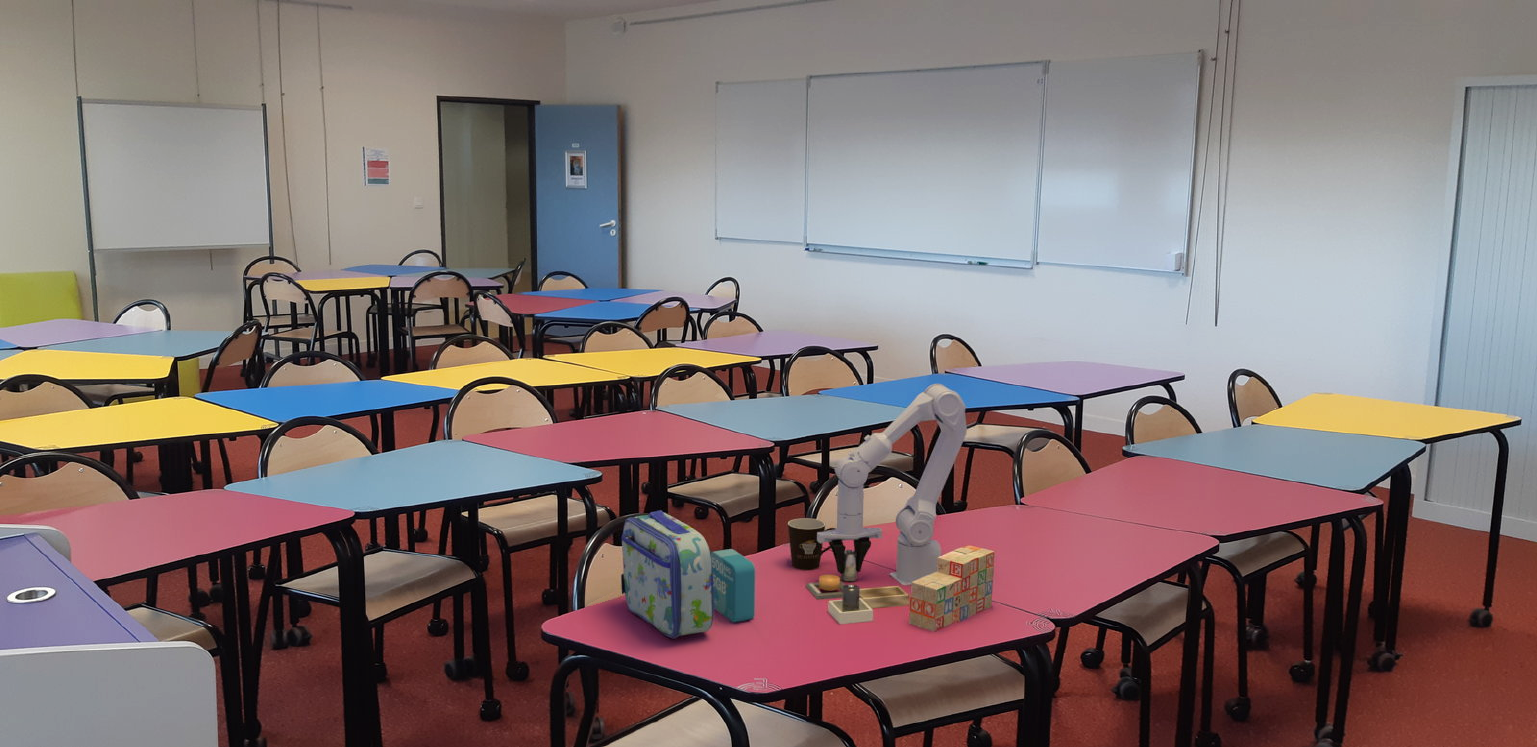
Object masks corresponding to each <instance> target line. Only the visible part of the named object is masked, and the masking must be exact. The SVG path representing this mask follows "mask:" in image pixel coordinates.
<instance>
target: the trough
mask: <svg viewBox="0 0 1537 747" xmlns="http://www.w3.org/2000/svg"><path fill="white" fill-rule="evenodd" d="M859 598H861V599H862V600H863V601H864V602H865V603H866V604H867V605H868V606H869V607H870V608H871V609H880V608H881V609H883V608H892V607H904V606H910V595H909V594H908V592H906V591H905V590H904V589H903V588H902V587H901V586H900V585H894V586H881V587H871V588H870V587H868V588H860V593H859Z"/></svg>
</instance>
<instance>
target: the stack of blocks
mask: <svg viewBox="0 0 1537 747" xmlns="http://www.w3.org/2000/svg"><path fill="white" fill-rule="evenodd" d="M994 563H995V551H994V550H991V549H987V548H981V547H979V546H975V545H966V546H963V547H959V548H956V549H954V550H952V551H950V552H947V553H945V554H943V555H942V554H941V556H940V557H938V558H937V572H935V573H933V574H930V575H927V576H925V577H922V578H920V579H918V580H915V581H913V582H912V583H911V586H910V596H909V618H908V619H909V625H913V626H916V627H919V628H921V629H925V630H928V631H932V632H934V633H935V632H937V630H940V629H943V628H945V627H948V626H949V625H951V624H953V623H955V622H958V623H960V622H962V621H964V620H967V619H968V618H970V617H972V616H973V615H976V614H978V613H981V612H983V611H985V610H988V609H989V608H992V606H993V586H994V584H993V583H994V576H995V575H994V572H995V565H994Z"/></svg>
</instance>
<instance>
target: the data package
mask: <svg viewBox="0 0 1537 747" xmlns="http://www.w3.org/2000/svg"><path fill="white" fill-rule="evenodd" d="M710 554H711V559H712V566H713V583H714V610H716V611H717V612H719V614H721V615H722V616H724V617H725V619H727V620H728V621H729V622H730V623H740V622H744V621H749V620H753V619H754V618H755V614H756V613H755V612H756V566H755V564H754V563H753V561H751V560H750V559H748V558H746V557H745V556H744V555H742V554H741V553H739V552H737V550H735V549H732V548H729V549H722V550H716V551H712V552H710Z"/></svg>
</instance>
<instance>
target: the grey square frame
mask: <svg viewBox="0 0 1537 747" xmlns="http://www.w3.org/2000/svg"><path fill="white" fill-rule="evenodd" d="M845 585H846V584H845V583H844V582H843V580H840V588H839V589H838V590H839V591H837V592H821V591H820V590H819V589H820V588H819V581H818V582H809V583H805V587H806V589H807V590H808V591H809V592H810V593H811V594H812V596H813V597H814V598H815V599H816V600H830V599H840V598H842V595H843V586H845Z"/></svg>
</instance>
